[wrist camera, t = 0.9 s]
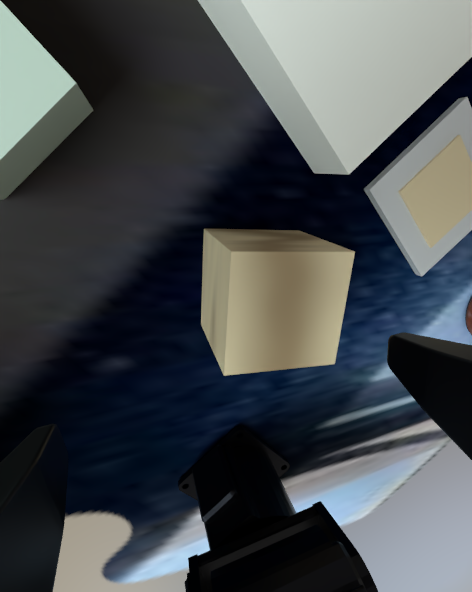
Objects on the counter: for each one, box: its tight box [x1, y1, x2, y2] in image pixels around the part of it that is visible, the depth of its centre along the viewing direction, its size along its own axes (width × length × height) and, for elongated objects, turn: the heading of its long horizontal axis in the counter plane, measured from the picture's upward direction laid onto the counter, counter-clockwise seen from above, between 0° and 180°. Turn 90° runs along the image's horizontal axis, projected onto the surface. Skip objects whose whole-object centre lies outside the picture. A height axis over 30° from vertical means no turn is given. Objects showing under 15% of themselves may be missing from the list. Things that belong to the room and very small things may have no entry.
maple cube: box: [201, 229, 355, 376], centre depth 19 cm, size 6×6×6 cm
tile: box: [364, 97, 472, 277], centre depth 23 cm, size 8×8×1 cm
